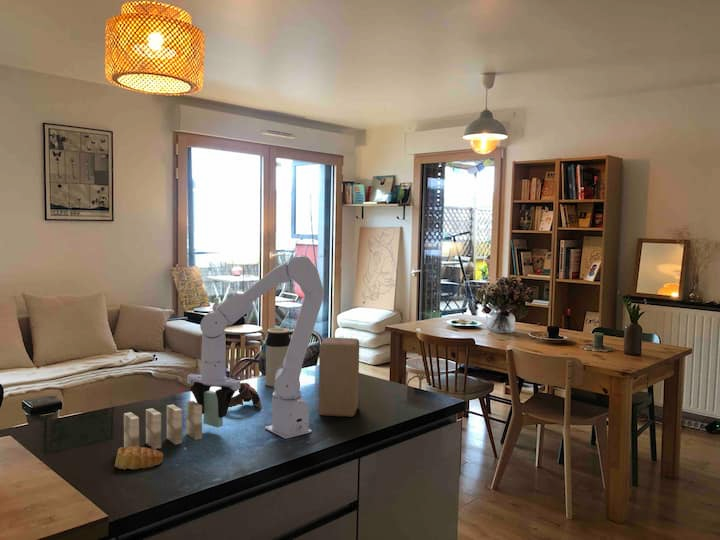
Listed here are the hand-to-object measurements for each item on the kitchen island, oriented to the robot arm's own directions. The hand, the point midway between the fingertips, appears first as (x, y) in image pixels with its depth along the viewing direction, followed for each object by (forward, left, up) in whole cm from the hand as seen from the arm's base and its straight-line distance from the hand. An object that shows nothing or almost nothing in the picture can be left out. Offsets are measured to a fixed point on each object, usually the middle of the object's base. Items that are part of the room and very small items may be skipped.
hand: (213, 414), depth 145 cm
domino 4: (0, +5, -4) cm, 7 cm away
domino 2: (0, +15, -4) cm, 16 cm away
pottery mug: (+13, -16, -5) cm, 21 cm away
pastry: (-8, +22, -5) cm, 24 cm away
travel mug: (+28, -37, -4) cm, 47 cm away
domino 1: (0, +20, -4) cm, 20 cm away
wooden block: (-6, -35, -4) cm, 36 cm away
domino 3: (0, +10, -4) cm, 11 cm away
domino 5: (0, 0, -2) cm, 2 cm away
